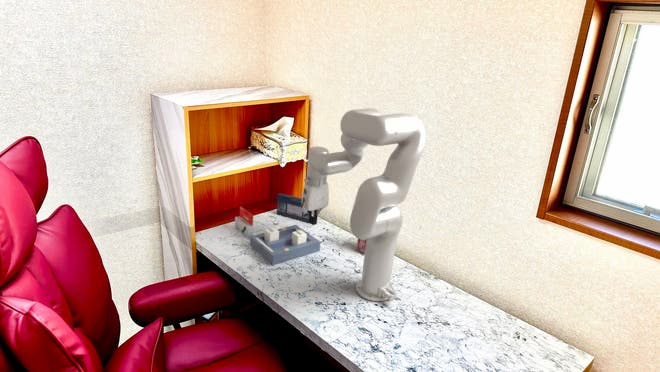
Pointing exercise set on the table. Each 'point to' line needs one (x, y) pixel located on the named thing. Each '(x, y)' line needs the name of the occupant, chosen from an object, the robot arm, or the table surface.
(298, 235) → the tab
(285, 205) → the vhs cassette tape
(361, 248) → the soda can
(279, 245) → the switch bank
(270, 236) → the tab
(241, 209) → the ink box
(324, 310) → the table surface
